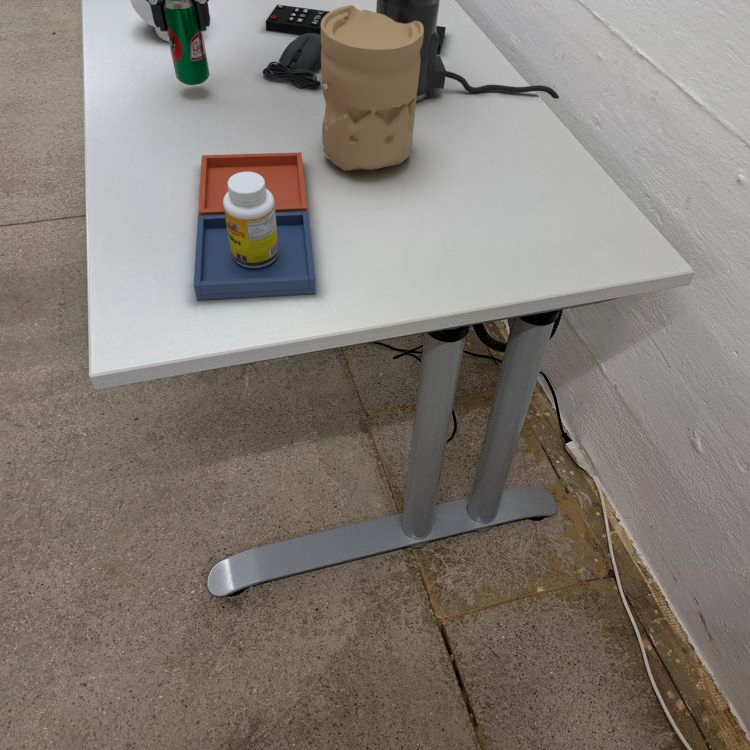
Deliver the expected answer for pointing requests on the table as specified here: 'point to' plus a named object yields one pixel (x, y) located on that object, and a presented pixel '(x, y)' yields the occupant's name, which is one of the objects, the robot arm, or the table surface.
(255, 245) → the supplement bottle
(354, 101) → the container
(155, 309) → the table surface
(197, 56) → the soda can
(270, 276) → the blue tray
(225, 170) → the terracotta tray
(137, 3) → the figurine
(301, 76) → the computer mouse
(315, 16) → the remote control
